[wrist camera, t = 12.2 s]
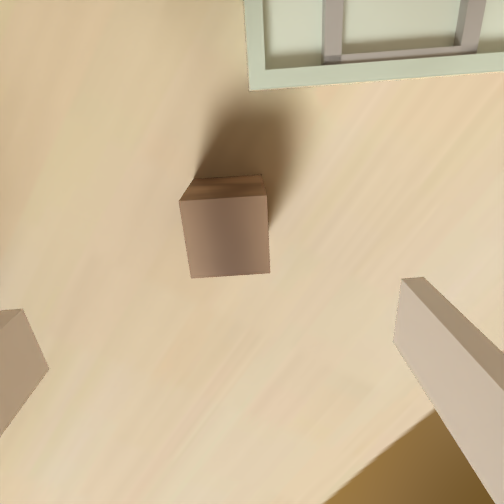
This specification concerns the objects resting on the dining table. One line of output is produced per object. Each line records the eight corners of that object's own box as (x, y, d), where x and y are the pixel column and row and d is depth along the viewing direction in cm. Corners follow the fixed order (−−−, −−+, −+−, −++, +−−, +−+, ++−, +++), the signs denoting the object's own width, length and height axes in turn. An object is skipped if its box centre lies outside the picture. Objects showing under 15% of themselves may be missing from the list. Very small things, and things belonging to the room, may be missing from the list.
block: (202, 241, 26) (191, 278, 20) (193, 179, 24) (178, 201, 18) (264, 237, 26) (270, 273, 20) (261, 174, 24) (266, 195, 18)
